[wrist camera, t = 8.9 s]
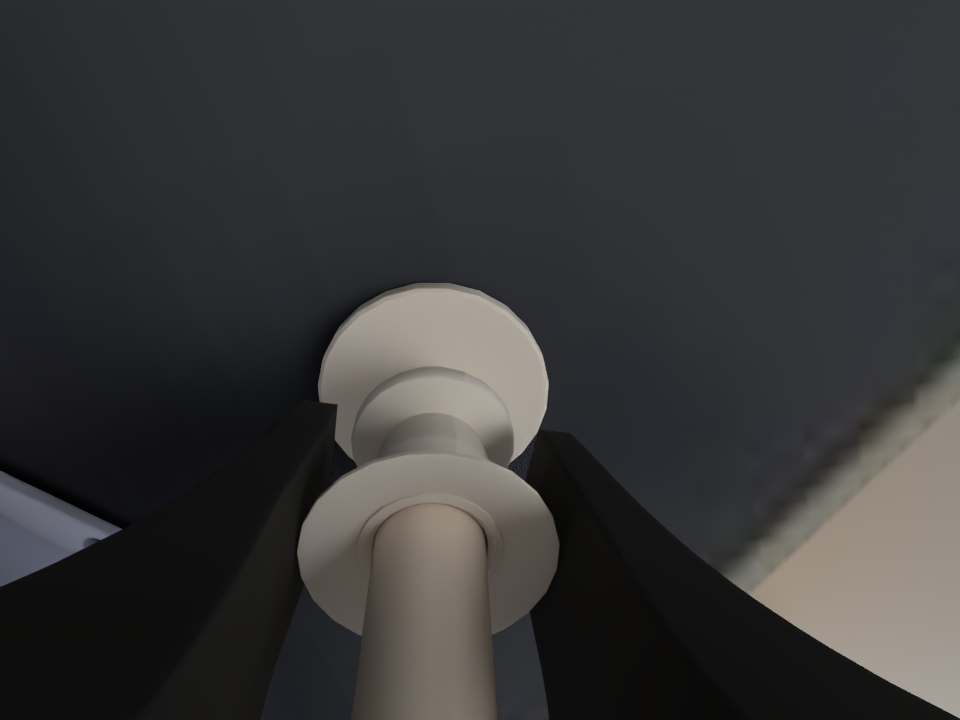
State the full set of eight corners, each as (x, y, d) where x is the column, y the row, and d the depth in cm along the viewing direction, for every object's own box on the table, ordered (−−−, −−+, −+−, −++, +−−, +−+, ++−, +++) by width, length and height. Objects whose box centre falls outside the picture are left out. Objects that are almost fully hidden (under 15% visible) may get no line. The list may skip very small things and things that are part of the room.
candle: (278, 333, 12) (-234, 1101, 3) (500, 243, 12) (717, 852, 2) (383, 503, 15) (275, 1246, 5) (572, 435, 14) (834, 1136, 5)
